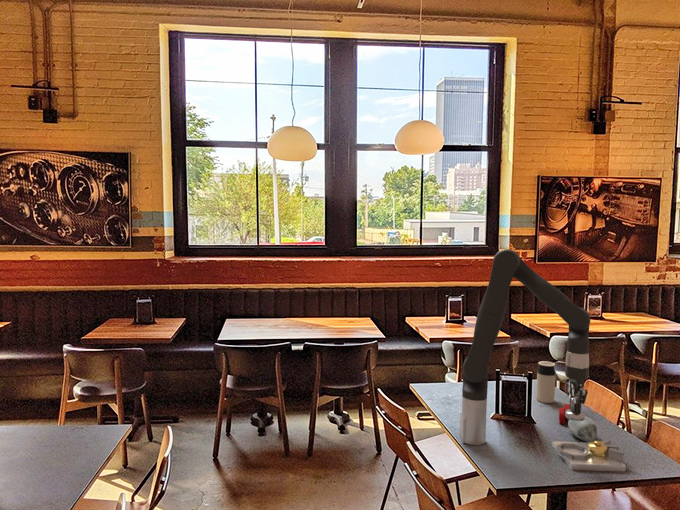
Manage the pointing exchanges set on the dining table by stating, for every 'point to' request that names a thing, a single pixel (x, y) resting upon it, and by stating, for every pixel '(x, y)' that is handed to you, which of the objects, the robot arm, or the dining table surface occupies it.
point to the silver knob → (572, 415)
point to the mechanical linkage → (563, 413)
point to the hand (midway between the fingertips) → (575, 411)
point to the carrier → (591, 455)
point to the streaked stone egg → (583, 429)
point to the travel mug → (545, 382)
